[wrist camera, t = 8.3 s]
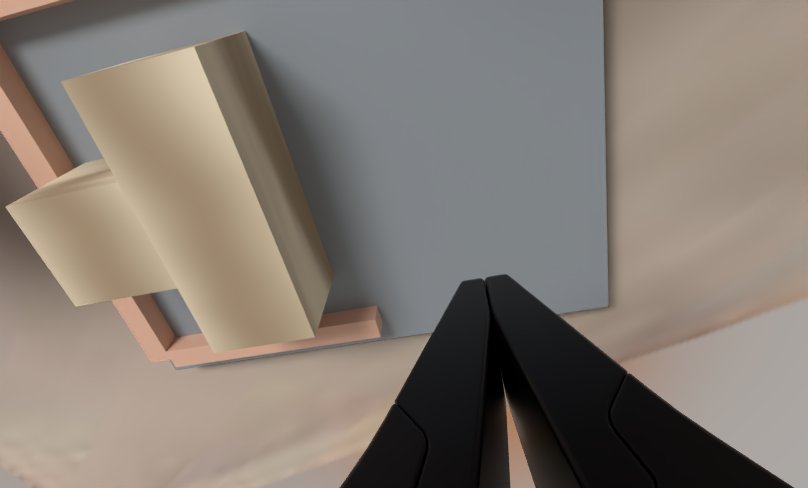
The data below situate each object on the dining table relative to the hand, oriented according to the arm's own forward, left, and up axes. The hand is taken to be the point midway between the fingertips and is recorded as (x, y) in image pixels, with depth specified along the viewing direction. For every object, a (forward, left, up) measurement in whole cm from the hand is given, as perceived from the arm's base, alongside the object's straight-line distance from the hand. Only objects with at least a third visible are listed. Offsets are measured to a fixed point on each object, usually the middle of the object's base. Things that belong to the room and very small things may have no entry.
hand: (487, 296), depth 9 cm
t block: (+10, 0, -10) cm, 14 cm away
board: (+5, 0, -11) cm, 12 cm away
